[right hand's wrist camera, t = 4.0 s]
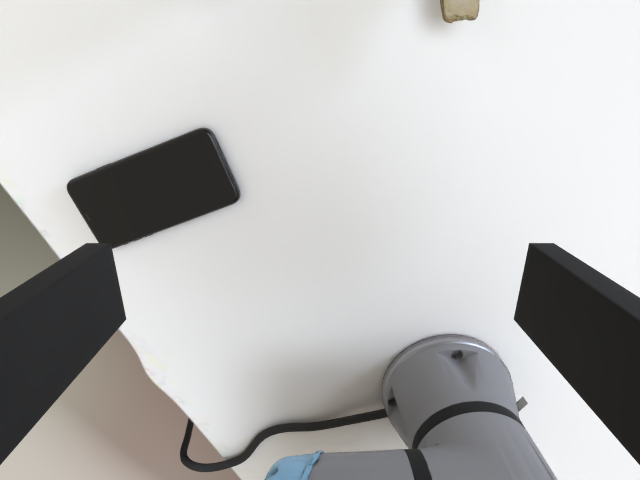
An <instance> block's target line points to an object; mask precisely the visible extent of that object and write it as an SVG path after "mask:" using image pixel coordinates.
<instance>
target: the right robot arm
mask: <svg viewBox="0 0 640 480" xmlns="http://www.w3.org/2000/svg"><path fill="white" fill-rule="evenodd" d="M125 320H126V316H125V311H124V306H123V301H122V296H121V291H120V286H119V281H118V276H117V272H116V267H115V262H114V257H113V252H112V247H111V243H86V244H84V245H83V246H81V247H80V248H78V249H77V250H75V251H73V252H72V253H70V254H69V255H67V256H66V257H64V258H62V259H61V260H59V261H58V262H56V263H55V264H53V265H51V266H50V267H48V268H47V269H45V270H43V271H42V272H40V273H39V274H37V275H36V276H34V277H33V278H31V279H29V280H28V281H26V282H24V283H23V284H21V285H20V286H18V287H17V288H15V289H14V290H12V291H10V292H9V293H7V294H6V295H4V296H2V297H1V298H0V465H1V464H2V462H3V461H4V460H5V459H6V458H7V456H8V455H9V454H10V453H11V452H12V451H13V450H14V448H15V447H16V446H17V445H18V444H19V443H20V442H21V440H22V439H23V438H24V437H25V436H26V435H27V433H28V432H29V431H30V430H31V429H32V428H33V427H34V425H35V424H36V423H37V422H38V421H39V420H40V418H41V417H42V416H43V415H44V414H45V413H46V411H47V410H48V409H49V408H50V407H51V406H52V405H53V403H54V402H55V401H56V400H57V399H58V398H59V396H60V395H61V394H62V393H63V392H64V391H65V390H66V388H67V387H68V386H69V385H70V384H71V382H72V381H73V380H74V379H75V378H76V377H77V376H78V374H79V373H80V372H81V371H82V370H83V369H84V367H85V366H86V365H87V364H88V363H89V362H90V361H91V359H92V358H93V357H94V356H95V355H96V354H97V352H98V351H99V350H100V349H101V348H102V347H103V346H104V344H105V343H106V342H107V341H108V340H109V339H110V337H111V336H112V335H113V334H114V333H115V332H116V331H117V329H118V328H119V327H120V326H121V325H122V324H123V322H124V321H125ZM514 320H515V321H516V322H517V324H518V325H519V326H520V327H521V328H522V329H523V331H524V332H525V333H526V334H527V335H528V336H529V337H530V339H531V340H532V341H533V342H534V343H535V344H536V346H537V347H538V348H539V349H540V350H541V351H542V352H543V354H544V355H545V356H546V357H547V358H548V359H549V361H550V362H551V363H552V364H553V365H554V366H555V368H556V369H557V370H558V371H559V372H560V373H561V374H562V376H563V377H564V378H565V379H566V380H567V381H568V383H569V384H570V385H571V386H572V387H573V388H574V390H575V391H576V392H577V393H578V394H579V395H580V396H581V398H582V399H583V400H584V401H585V402H586V403H587V405H588V406H589V407H590V408H591V409H592V410H593V411H594V413H595V414H596V415H597V416H598V417H599V418H600V420H601V421H602V422H603V423H604V424H605V425H606V427H607V428H608V429H609V430H610V431H611V432H612V433H613V435H614V436H615V437H616V438H617V439H618V440H619V442H620V443H621V444H622V445H623V446H624V447H625V448H626V450H627V451H628V452H629V453H630V454H631V455H632V457H633V458H634V459H635V460H636V461H637V462H638V464H639V465H640V298H639V297H638V296H636V295H634V294H633V293H631V292H630V291H628V290H627V289H625V288H623V287H622V286H620V285H619V284H617V283H616V282H614V281H612V280H611V279H609V278H608V277H606V276H604V275H603V274H601V273H600V272H598V271H597V270H595V269H593V268H592V267H590V266H589V265H587V264H586V263H584V262H582V261H581V260H579V259H578V258H576V257H574V256H573V255H571V254H570V253H568V252H567V251H565V250H563V249H562V248H560V247H559V246H557V245H556V244H554V243H529V247H528V252H527V257H526V262H525V267H524V272H523V276H522V281H521V286H520V291H519V296H518V301H517V306H516V311H515V316H514ZM382 397H383V402H384V407H385V409H382V410H377V411H372V412H367V413H362V414H357V415H352V416H347V417H342V418H337V419H332V420H327V421H321V422H314V423H290V424H281V425H276V426H273V427H270V428H268V429H266V430H264V431H262V432H261V433H259V434H258V435H257V436H256V437H255V438H254V440H253V441H252V442H251V444H250V445H249V446H248V448H247V449H246V450H245V451H244V452H243V453H242V454H241V455H239V456H237V457H235V458H232V459H229V460H226V461H222V462H218V463H211V464H202V463H197V462H194V461H192V460H191V459H189V457H188V455H187V450H188V446H189V442H190V439H191V435H192V430H193V425H194V422H193V421H192V420H191V419H190V418H188V423H187V427H186V431H185V436H184V439H183V442H182V445H181V449H180V459H181V462H182V463H183V464H184V465H185V466H186V467H188V468H189V469H191V470H194V471H198V472H213V471H219V470H223V469H227V468H230V467H233V466H236V465H239V464H241V463H242V462H244V461H245V460H247V459H248V458H249V457H250V456H251V454H252V453H253V452H254V450H255V449H256V448H257V446H258V445H259V444H260V443H261V442H262V441H263V440H264V439H266V438H268V437H270V436H272V435H275V434H278V433H283V432H297V431H316V430H323V429H329V428H335V427H340V426H345V425H350V424H355V423H361V422H366V421H371V420H376V419H381V418H386V417H388V418H389V420H390V422H391V423H392V425H393V426H394V428H395V429H396V431H397V432H398V434H399V435H400V437H401V438H402V440H403V441H404V442H405V444H406V445H407V447H408V448H409V449H405V450H404V449H399V450H384V451H363V452H340V453H324V451H317V452H316V453H315V454H308V455H299V456H289V457H284V458H282V459H280V460H278V461H277V462H276V463H275V464H274V465H273V466H272V467H271V469H270V470H269V472H268V474H267V476H266V478H265V480H557V478H556V477H555V475H554V473H553V472H552V470H551V469H550V467H549V465H548V464H547V462H546V461H545V459H544V457H543V456H542V454H541V453H540V451H539V449H538V448H537V446H536V445H535V443H534V442H533V440H532V438H531V437H530V435H529V434H528V432H527V431H526V429H525V427H524V426H523V424H522V422H521V421H520V419H519V414H518V412H519V411H520V410H521V409H522V408H523V407H525V406H526V405H527V404H528V403H527V402H526V400H525V399H524V397H522V398H521V399H520V400H519V401H518V402H516V398H515V393H514V388H513V383H512V379H511V376H510V373H509V371H508V369H507V367H506V366H505V364H504V363H503V361H502V360H501V359H500V357H499V356H498V354H497V353H496V352H495V351H494V350H493V349H492V348H491V347H489V346H488V345H486V344H485V343H483V342H481V341H479V340H476V339H474V338H471V337H466V336H460V335H442V336H435V337H431V338H428V339H424V340H422V341H419V342H417V343H415V344H413V345H412V346H410V347H408V348H407V349H405V350H404V351H403V352H402V353H400V354H399V355H398V356H397V357H396V358H395V359H394V361H393V362H392V363H391V364H390V366H389V367H388V369H387V371H386V373H385V376H384V379H383V384H382Z"/></svg>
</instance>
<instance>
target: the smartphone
mask: <svg viewBox="0 0 640 480" xmlns="http://www.w3.org/2000/svg"><path fill="white" fill-rule="evenodd" d="M67 191H68V193H69V195H70V197H71V198H72V200H73V202H74V203H75V205H76V206H77V208H78V210H79V211H80V213H81V215H82V216H83V218H84V220H85V221H86V223H87V224H88V226H89V228H90V229H91V231H92V233H93V234H94V236H95V237H96V239H97V241H98V242H99V243H111V247H112V249H113V248H116V247H119V246H122V245H125V244H128V243H130V242H132V241H136V240H139V239H141V238H143V237H147V236H150V235H152V234H154V233H157V232H159V231H162V230H165V229H167V228H170V227H173V226H176V225H178V224H181V223H184V222H186V221H189V220H192V219H194V218H197V217H200V216H202V215H205V214H208V213H211V212H213V211H216V210H219V209H221V208H224V207H227V206H229V205H232V204H234V203H236V202H237V201H238V200H239V198H240V191H239V188H238V186H237V184H236V181H235V179H234V177H233V175H232V173H231V170H230V168H229V166H228V164H227V162H226V159H225V157H224V155H223V153H222V150H221V148H220V146H219V144H218V142H217V140H216V137H215V135H214V134H213V132H212V131H211V130H209V129H207V128H199V129H196V130H193V131H191V132H189V133H186V134H184V135H181V136H179V137H176V138H174V139H171V140H169V141H166V142H164V143H161V144H159V145H156V146H154V147H151V148H149V149H146V150H144V151H141V152H139V153H136V154H134V155H131V156H129V157H126V158H124V159H121V160H119V161H116V162H114V163H110V164H108V165H105V166H103V167H100V168H98V169H96V170H94V171H91V172H89V173H86V174H84V175H81V176H79V177H76V178H74V179H72V180H70V181H69V182H68V184H67Z"/></svg>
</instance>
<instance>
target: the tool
mask: <svg viewBox="0 0 640 480" xmlns="http://www.w3.org/2000/svg"><path fill="white" fill-rule="evenodd" d="M440 4H441V10H442V16H443V19H444V21H445V22H448V23H452V22H453V21H459V20H464V19H465V20H475V19H476V18H477V16H478V12H479V0H440Z"/></svg>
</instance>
